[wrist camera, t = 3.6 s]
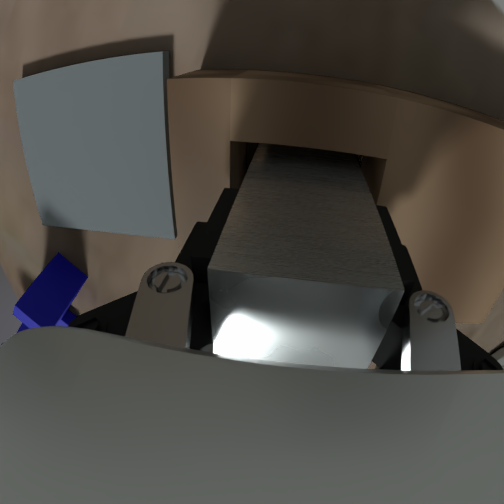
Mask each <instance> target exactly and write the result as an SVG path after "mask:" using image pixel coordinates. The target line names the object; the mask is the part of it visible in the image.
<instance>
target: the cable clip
mask: <svg viewBox="0 0 504 504" xmlns="http://www.w3.org/2000/svg"><path fill="white" fill-rule="evenodd" d="M87 278H88V276H86V275H85V274H84V273H83V272H81V271H80V270H79V269H78V268H77V267H75V266H74V265H73V264H72V263H71V262H69V261H68V260H67V259H66V258H65V257H63V256H62V255H61V254H60V253H59V252H58V253H57V255H56V256H55V257H54V258H53V259H52V260H51V261H50V263H49V264H48V265H47V266H46V267H45V268H44V270H43V271H42V272H41V273H40V274H39V276H38V277H37V278H36V279H35V281H34V282H33V283H32V284H31V285H30V287H29V288H28V289H27V290H26V292H25V293H24V294H23V296H22V297H21V298H20V299H19V301H18V302H17V303H16V305H15V307H14V311H13V315H14V316H16V317H17V318H18V319H19V320H20V321H21V322H22V325H21V326H20V328H19V330H18V332H20V331H23V330H26V329H31V328H36V327H46V326H61V325H62V326H65V327H68V325H69V324H70V322H71V321H72V320H73V319H75V318H76V317H77V316H76V315H74V314H73V313H72V312H71V311H69V310H68V308H69V306H70V305H71V303H72V302H73V300H74V298H75V297H76V295H77V294H78V292H79V290H80V289H81V287H82V286H83V284H84V283H85V281H86V280H87ZM18 332H17V333H18Z"/></svg>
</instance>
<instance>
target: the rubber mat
mask: <svg viewBox="0 0 504 504" xmlns="http://www.w3.org/2000/svg"><path fill="white" fill-rule="evenodd" d="M169 78H170V72H169V51H161V52H151V53H141V54H133V55H126V56H119V57H112V58H106V59H100V60H95V61H89V62H84V63H79V64H75V65H70V66H66V67H61V68H57V69H53V70H49V71H45V72H42V73H38V74H34V75H31V76H27V77H24V78H21V79H18V80H15V81H13V87H14V96H15V104H16V111H17V117H18V124H19V129H20V135H21V140H22V146H23V151H24V155H25V160H26V164H27V169H28V173H29V177H30V181H31V185H32V189H33V193H34V196H35V200H36V204H37V207H38V210H39V214H40V217H41V220H42V224H43V225H46V226H56V227H65V228H74V229H84V230H93V231H102V232H112V233H121V234H130V235H139V236H149V237H158V238H167V239H175V238H176V237H177V225H176V215H175V205H174V194H173V182H172V170H171V156H170V140H169V122H168V99H167V79H169Z"/></svg>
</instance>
